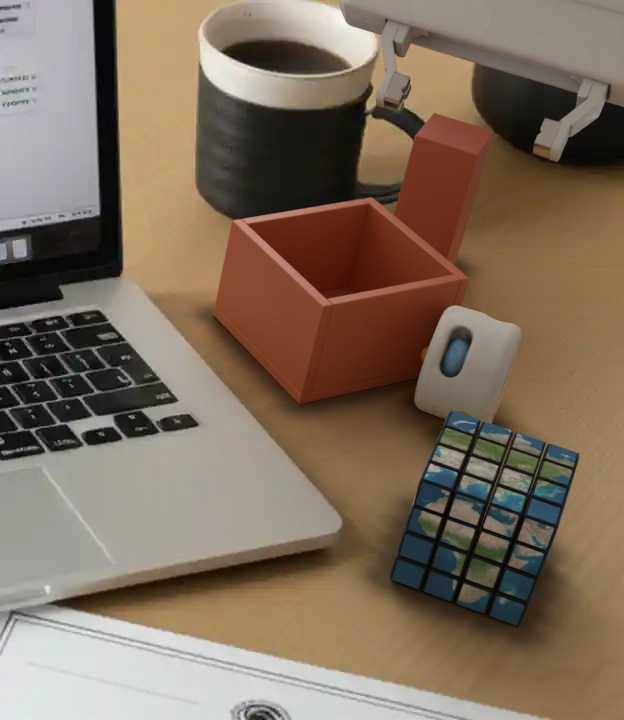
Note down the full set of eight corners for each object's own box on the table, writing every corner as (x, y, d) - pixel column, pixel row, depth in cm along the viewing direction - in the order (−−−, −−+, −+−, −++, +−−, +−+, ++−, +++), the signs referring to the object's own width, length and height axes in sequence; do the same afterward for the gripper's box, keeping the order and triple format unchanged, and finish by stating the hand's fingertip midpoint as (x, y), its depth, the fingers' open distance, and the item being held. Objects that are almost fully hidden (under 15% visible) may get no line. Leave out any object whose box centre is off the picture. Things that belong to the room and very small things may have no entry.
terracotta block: (397, 246, 100) (433, 112, 95) (454, 265, 99) (495, 131, 94) (378, 271, 98) (414, 135, 92) (437, 291, 96) (477, 154, 91)
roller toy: (393, 427, 85) (420, 334, 82) (423, 367, 90) (450, 277, 86) (478, 457, 84) (510, 363, 80) (504, 394, 88) (535, 303, 85)
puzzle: (519, 629, 73) (558, 526, 70) (388, 580, 75) (419, 478, 72) (543, 551, 78) (581, 451, 75) (418, 507, 80) (450, 408, 76)
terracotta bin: (348, 288, 96) (372, 196, 92) (440, 373, 89) (470, 278, 86) (212, 314, 92) (231, 219, 89) (299, 404, 86) (323, 306, 82)
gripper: (383, -150, 99) (291, 55, 97) (737, -60, 91) (644, 164, 90) (389, -97, 104) (303, 98, 103) (722, -8, 97) (635, 203, 96)
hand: (464, 129), depth 96 cm, fingers open, 8 cm apart
